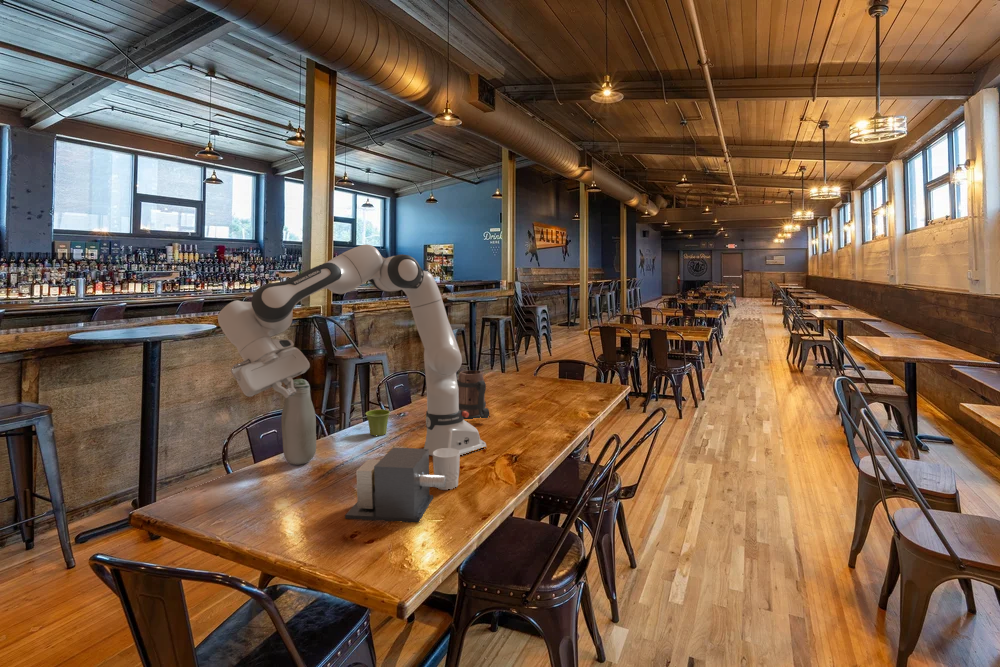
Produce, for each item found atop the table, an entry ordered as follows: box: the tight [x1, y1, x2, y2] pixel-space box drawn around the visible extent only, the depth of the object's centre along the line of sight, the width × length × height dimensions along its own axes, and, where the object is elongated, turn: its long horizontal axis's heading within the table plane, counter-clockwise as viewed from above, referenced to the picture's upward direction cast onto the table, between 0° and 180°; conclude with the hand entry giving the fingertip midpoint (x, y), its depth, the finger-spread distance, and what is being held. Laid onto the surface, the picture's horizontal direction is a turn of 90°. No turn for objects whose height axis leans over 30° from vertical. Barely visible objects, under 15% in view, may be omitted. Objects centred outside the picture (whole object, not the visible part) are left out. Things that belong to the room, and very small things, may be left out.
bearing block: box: [344, 447, 434, 523], centre depth 129 cm, size 19×14×14 cm
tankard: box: [457, 370, 490, 419], centre depth 215 cm, size 24×17×20 cm
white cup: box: [432, 448, 461, 491], centre depth 144 cm, size 8×8×10 cm
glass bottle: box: [280, 378, 317, 466], centre depth 161 cm, size 10×10×28 cm
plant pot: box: [365, 408, 391, 437], centre depth 193 cm, size 9×9×9 cm
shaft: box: [356, 459, 446, 509], centre depth 129 cm, size 22×8×10 cm, turn 83°
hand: (291, 395), depth 133 cm, fingers closed
